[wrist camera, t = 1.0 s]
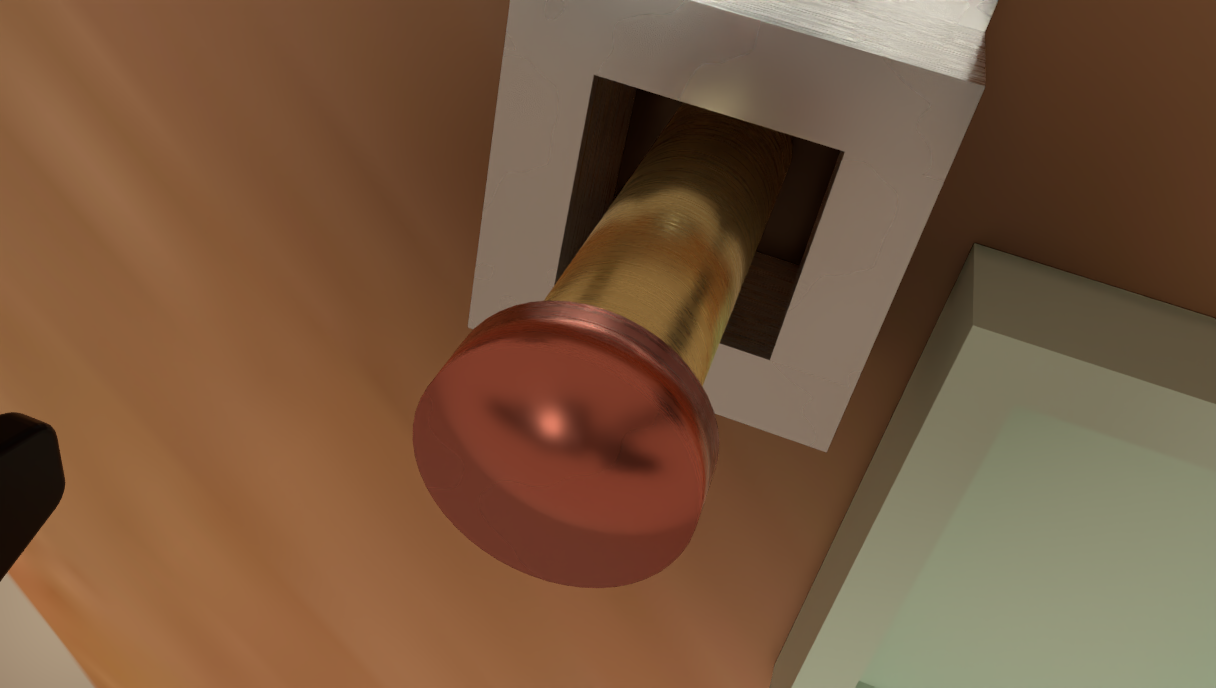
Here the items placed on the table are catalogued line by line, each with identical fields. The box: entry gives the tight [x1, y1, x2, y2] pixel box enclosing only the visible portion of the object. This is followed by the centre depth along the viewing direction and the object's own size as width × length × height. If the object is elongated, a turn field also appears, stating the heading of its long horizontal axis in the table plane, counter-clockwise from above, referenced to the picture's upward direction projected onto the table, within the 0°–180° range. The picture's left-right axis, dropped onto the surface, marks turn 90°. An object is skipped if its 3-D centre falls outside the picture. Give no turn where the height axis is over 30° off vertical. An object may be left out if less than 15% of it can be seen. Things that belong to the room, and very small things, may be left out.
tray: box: [770, 243, 1216, 688], centre depth 21 cm, size 10×13×3 cm
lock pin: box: [413, 103, 793, 588], centre depth 15 cm, size 3×3×10 cm
